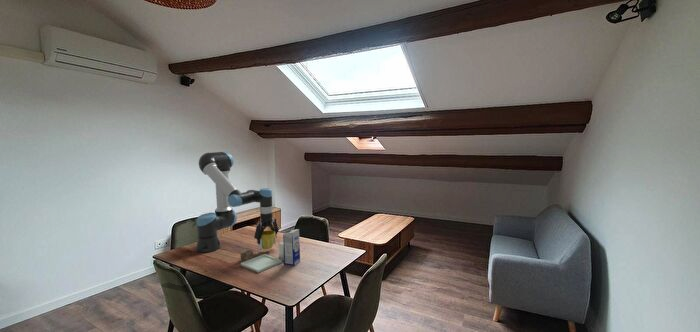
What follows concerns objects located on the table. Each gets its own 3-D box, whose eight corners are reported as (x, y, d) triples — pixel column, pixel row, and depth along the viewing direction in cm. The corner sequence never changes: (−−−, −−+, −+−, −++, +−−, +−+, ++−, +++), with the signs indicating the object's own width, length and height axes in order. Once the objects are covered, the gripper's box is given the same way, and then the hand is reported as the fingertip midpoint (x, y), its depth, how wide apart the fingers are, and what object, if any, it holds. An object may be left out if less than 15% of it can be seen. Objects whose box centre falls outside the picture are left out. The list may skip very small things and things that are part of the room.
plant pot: (270, 251, 182) (270, 235, 181) (255, 249, 184) (255, 234, 183) (278, 245, 192) (277, 230, 191) (263, 243, 194) (263, 229, 193)
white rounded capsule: (276, 258, 178) (275, 243, 177) (285, 254, 184) (284, 240, 183) (284, 260, 174) (283, 246, 173) (292, 256, 179) (292, 242, 179)
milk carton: (294, 266, 166) (292, 232, 164) (283, 264, 168) (282, 231, 166) (300, 261, 172) (299, 228, 171) (290, 260, 175) (289, 227, 173)
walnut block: (240, 260, 175) (240, 252, 175) (246, 257, 180) (246, 249, 180) (247, 261, 174) (247, 253, 173) (253, 258, 178) (252, 250, 178)
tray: (240, 265, 168) (240, 263, 168) (264, 256, 181) (264, 253, 181) (258, 272, 158) (258, 270, 158) (282, 262, 172) (282, 259, 171)
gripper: (254, 217, 175) (255, 252, 177) (284, 209, 193) (284, 242, 195) (247, 215, 179) (248, 250, 181) (276, 208, 197) (277, 239, 199)
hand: (267, 245), depth 188 cm, fingers closed on plant pot, 10 cm apart
